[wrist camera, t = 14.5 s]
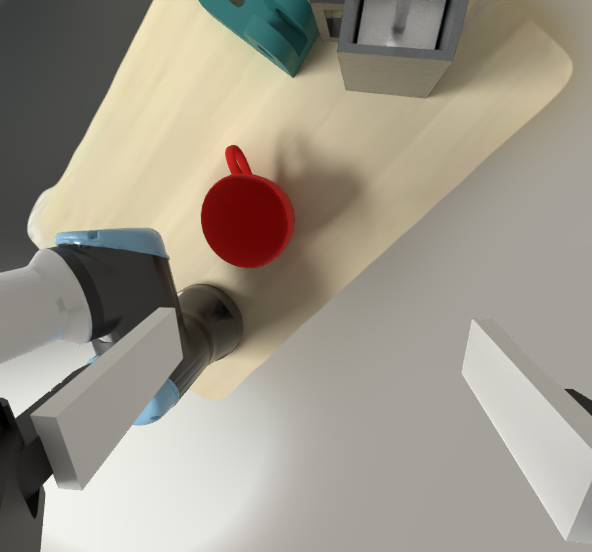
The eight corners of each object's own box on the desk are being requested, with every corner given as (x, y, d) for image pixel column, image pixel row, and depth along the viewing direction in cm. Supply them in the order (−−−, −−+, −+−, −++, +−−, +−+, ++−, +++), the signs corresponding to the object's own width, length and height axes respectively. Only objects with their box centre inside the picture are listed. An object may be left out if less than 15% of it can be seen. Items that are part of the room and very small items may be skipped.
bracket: (320, 30, 43) (311, -1, 35) (293, 78, 45) (279, 58, 38) (216, -50, 43) (185, -98, 35) (194, 2, 45) (161, -32, 38)
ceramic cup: (288, 139, 47) (269, 129, 38) (311, 246, 52) (299, 260, 42) (213, 160, 51) (179, 155, 42) (240, 259, 55) (215, 275, 46)
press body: (320, 87, 44) (301, 49, 31) (333, -7, 41) (318, -94, 28) (426, 98, 42) (452, 61, 29) (449, -1, 39) (492, -94, 26)
